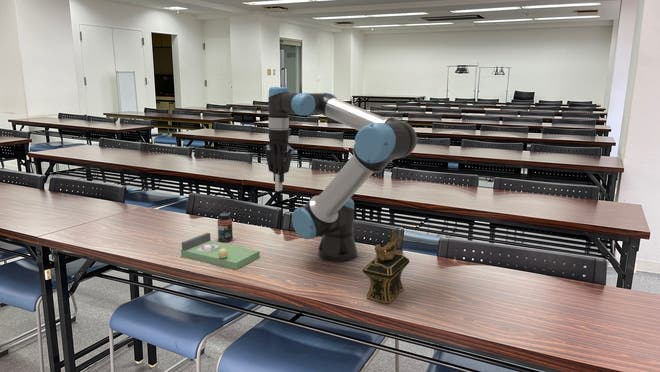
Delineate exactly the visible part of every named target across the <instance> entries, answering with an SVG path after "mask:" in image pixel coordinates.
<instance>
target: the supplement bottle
mask: <svg viewBox="0 0 660 372" xmlns="http://www.w3.org/2000/svg"><path fill="white" fill-rule="evenodd" d="M230 216H231V215H230V213H228V212H223V213H220V214H219V218H218V219H217V238H218V239H217V240H218V241H219V242H220V243H229V242H231V241H232V240H234V239H233V220H232V218H230Z"/></svg>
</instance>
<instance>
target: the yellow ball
mask: <svg viewBox="0 0 660 372" xmlns="http://www.w3.org/2000/svg"><path fill="white" fill-rule="evenodd" d="M218 256H219V257H220V258H226V257H227V256H228V251H227V249H225V248H222V249H220V250H219V251H218Z"/></svg>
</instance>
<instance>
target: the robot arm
mask: <svg viewBox="0 0 660 372" xmlns="http://www.w3.org/2000/svg"><path fill="white" fill-rule="evenodd" d="M267 100H268V128H269V130H268V139H269V141H268V144H266V145H265V146H263V147H262V149H263V150H264V153H265V159H266V162H267V168H268V171H269V172H271V173H272V174H273V182H274V185H275V186H274V187H275V188H274V189H275V190H274V191H275V192H282V191H283V183H284V182H285V174H287V173H289V172H290V167H291V161H292V158H293V154H294V153H295V148H293V147H291V146H290V143H289V139H290V136H289V135H290V131H289V128H290V127H289V125H290V124H289V123H290V115H298V116H309V115H322V116H324V117H326V118H329V119H332V120H334V121H336V122H338V123H340V124H342V125H345V126H347V127H349V128H351V129H355V130H356V131H358V132H357V134H356V135H355V137H354V144H353V148H352V154H353V155H352V156H351V157H350V158H349V159H348V160H347V162H346V163H345V164H344V165H343V167H342V168H341V169H340V170H339V171H338V173H336V175H335V176H334V177H333V179H332V180H331V181H330V182H329V183H328V185H326V187H325V188H324V190H323V191H321V192H320V194H319V195H314V196H312V197H311V198H310V199H309V201H308V202H307V203H306V204H305V205H304V206H300V207H298V208H295V210H294V211H293V213H292V216H291V221H292V222H291V223H292V227H293V229H294V231H295V233H296V234H297V235H298V237H300V238H302V239H303V240H311V239H315V238H318V237H320V236H322V237H321V240H320V243H319V245H318V248H317V249H318V250H317V255H318V257H320V258H321V259H322V260H326V261H331V262H347V261H346V260H348V261H351V260H353V258H354V259H356V257H357V256H358V248H357V245H356V241H355V239H354V224H355V223H354V219H355V202H354V200H353V199H352V196H354V195H355V194H356V192H357V191H358V190H359V189H360V188H361V187H362V186H363V184H365V183H366V181H367V180H368V179H369V178H370V177H371V176H372V174H374V173H380V172H382V171H383V170H384V169H385V168H386V166H388V164H389V163H390V162H391V161H393V160H397V159H402V158H406V157H408V156H409V155H410V154H411V153H412V152H413V151H414V150H415V148H416V146H417V143H418V136H417V132H416V130H415V129H414V127H413V126H412V125H410V124H409V123H408V122H405V121H402V120H400V119H397V118H394V117H388V118H387V117H383V116H382V115H379V114H376V113H373V112H371V111H368V110H366V109H363V108H361V107H358V106H356V105H353V104H351V103H348V102H346V101H344V100H341V99H338V98H337V96H336V95H335V94H333V93H330V92H329V93H328V92H322V93H321V92H318V93H317V92H315V93H312V92H311V93H310V92H308V93H307V92H299V93H298V92H290V89H289V87H286V86H271V87H269V89H268V98H267Z"/></svg>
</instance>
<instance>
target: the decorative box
mask: <svg viewBox="0 0 660 372" xmlns="http://www.w3.org/2000/svg"><path fill="white" fill-rule="evenodd" d="M391 231H392V235H391V239H390V242H388V243H387V244H385V245H384V246H383V247H382V246H381V244H376V245H375V246H374V251H375V253H376V254H375V257H374V259H372V260H371V261H370V262H368V264H367V265H365V266H364V267H363V269H362V272H363V274H364V275H365V276H367V278H368V279H369V282H370V286H369V287H370V288H369V290H368V292H367V293H366V296H365V298H366V297H367V298H369V299H368V300H370V299H372V300H371V301H374V300H376V301H375V302H378V301H379V302H378V303H381V302H383V303H382V304H385V303H390V304H391V303H392V302H393V301H395V300H396V298H398V296H399V295H400V294H401V293H402V292H403V291H404V290H405V289H404V288H405V287H404V286H403V284H402V273H403V271H404V270H405V268H406V267H407V266H408V264H409V263H410V258H408V257H406V256H405V255H403V254H398V253H396V250H397V245H398V244H399V243H401V242H402V241H403V238H404V235H401V236H398V234H397V233H396V232H395V230H394V228H392V229H391ZM367 298H366V299H367Z"/></svg>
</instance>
